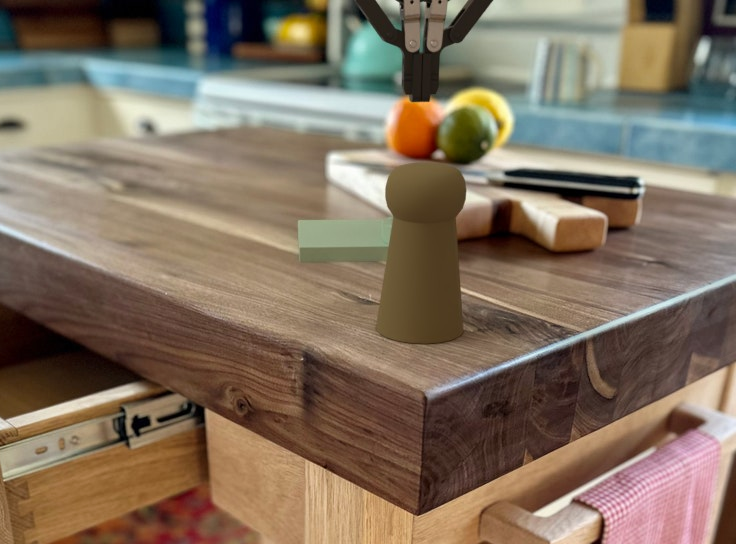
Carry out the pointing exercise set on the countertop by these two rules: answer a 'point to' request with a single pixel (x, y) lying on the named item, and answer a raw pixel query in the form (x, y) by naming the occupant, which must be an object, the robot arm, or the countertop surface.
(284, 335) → the countertop surface
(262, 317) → the countertop surface
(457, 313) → the cork
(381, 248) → the mint green base plate
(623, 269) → the countertop surface
